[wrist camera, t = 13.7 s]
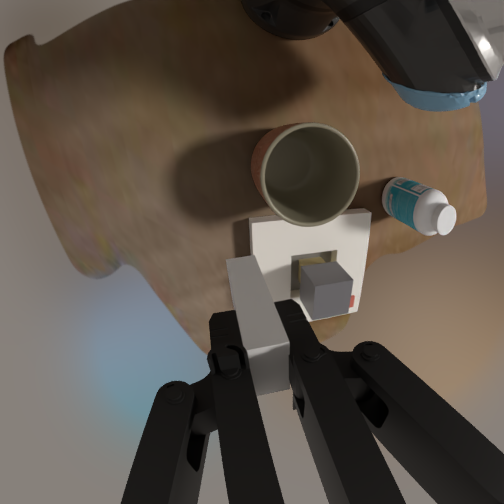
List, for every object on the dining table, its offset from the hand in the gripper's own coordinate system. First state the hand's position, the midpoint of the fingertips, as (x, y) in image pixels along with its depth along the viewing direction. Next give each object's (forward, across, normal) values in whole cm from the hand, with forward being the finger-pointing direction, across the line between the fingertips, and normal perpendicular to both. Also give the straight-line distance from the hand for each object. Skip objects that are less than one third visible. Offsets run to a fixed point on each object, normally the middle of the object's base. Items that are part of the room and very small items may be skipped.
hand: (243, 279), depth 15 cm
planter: (+28, +10, +1) cm, 30 cm away
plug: (+28, +14, -17) cm, 35 cm away
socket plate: (+28, +14, -17) cm, 35 cm away
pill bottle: (+29, +31, -6) cm, 43 cm away
